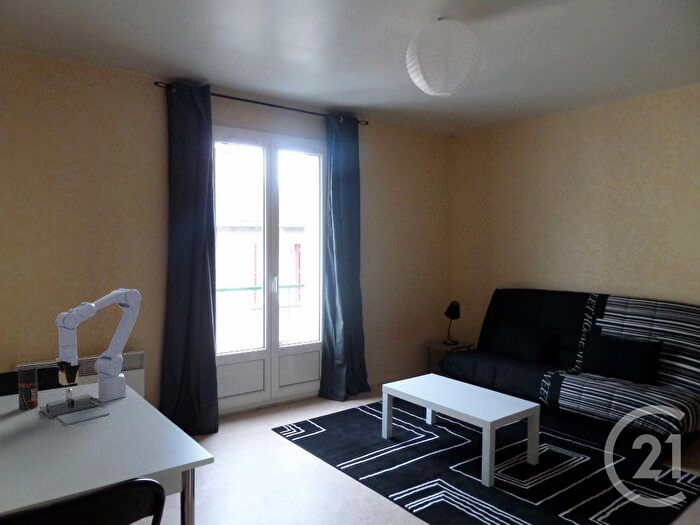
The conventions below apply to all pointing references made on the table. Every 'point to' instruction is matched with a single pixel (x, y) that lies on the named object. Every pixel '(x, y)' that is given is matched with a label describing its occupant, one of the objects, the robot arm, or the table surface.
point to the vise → (68, 405)
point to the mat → (82, 415)
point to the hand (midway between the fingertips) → (68, 381)
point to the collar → (63, 378)
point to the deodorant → (27, 387)
